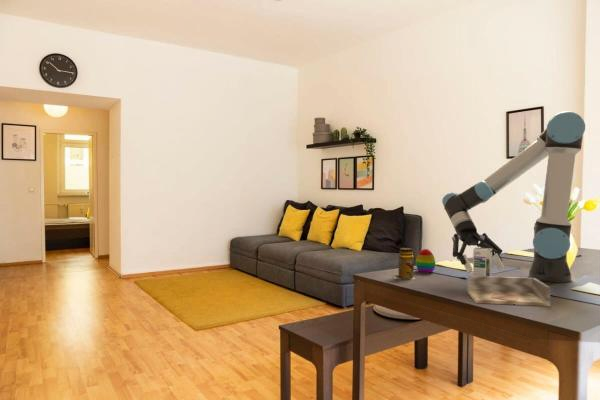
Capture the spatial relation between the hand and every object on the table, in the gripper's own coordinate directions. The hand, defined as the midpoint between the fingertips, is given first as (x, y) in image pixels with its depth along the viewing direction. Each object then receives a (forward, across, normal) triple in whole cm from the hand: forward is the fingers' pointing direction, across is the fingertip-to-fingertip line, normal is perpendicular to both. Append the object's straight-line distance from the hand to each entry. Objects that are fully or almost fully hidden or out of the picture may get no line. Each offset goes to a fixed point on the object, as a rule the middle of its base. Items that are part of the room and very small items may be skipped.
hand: (486, 270), depth 164 cm
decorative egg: (-19, +7, -28) cm, 35 cm away
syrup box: (+3, 0, -6) cm, 7 cm away
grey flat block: (+15, +3, +6) cm, 16 cm away
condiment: (-12, +22, -22) cm, 33 cm away
